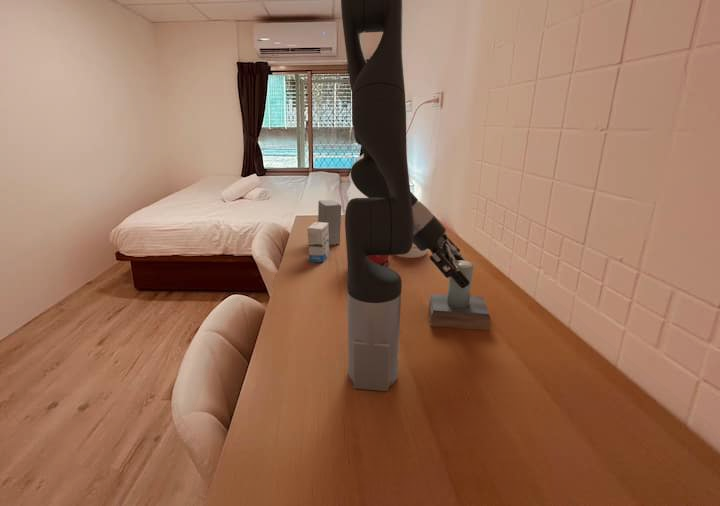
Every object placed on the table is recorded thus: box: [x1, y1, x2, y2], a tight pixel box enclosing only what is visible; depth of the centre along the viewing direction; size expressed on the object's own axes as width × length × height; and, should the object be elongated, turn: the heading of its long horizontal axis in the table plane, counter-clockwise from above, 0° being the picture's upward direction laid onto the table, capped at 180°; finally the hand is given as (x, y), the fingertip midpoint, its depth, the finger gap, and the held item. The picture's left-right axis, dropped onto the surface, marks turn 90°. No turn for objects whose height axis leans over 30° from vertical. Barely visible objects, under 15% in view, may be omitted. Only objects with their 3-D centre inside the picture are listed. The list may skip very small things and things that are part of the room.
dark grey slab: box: [428, 293, 492, 331], centre depth 88 cm, size 9×13×4 cm
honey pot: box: [395, 243, 428, 259], centre depth 130 cm, size 13×13×18 cm
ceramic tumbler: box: [447, 259, 475, 309], centre depth 85 cm, size 5×5×10 cm
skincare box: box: [317, 199, 342, 247], centre depth 139 cm, size 8×7×16 cm
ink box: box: [307, 221, 330, 264], centre depth 124 cm, size 9×5×12 cm, turn 168°
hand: (467, 278), depth 85 cm, fingers open, 8 cm apart
